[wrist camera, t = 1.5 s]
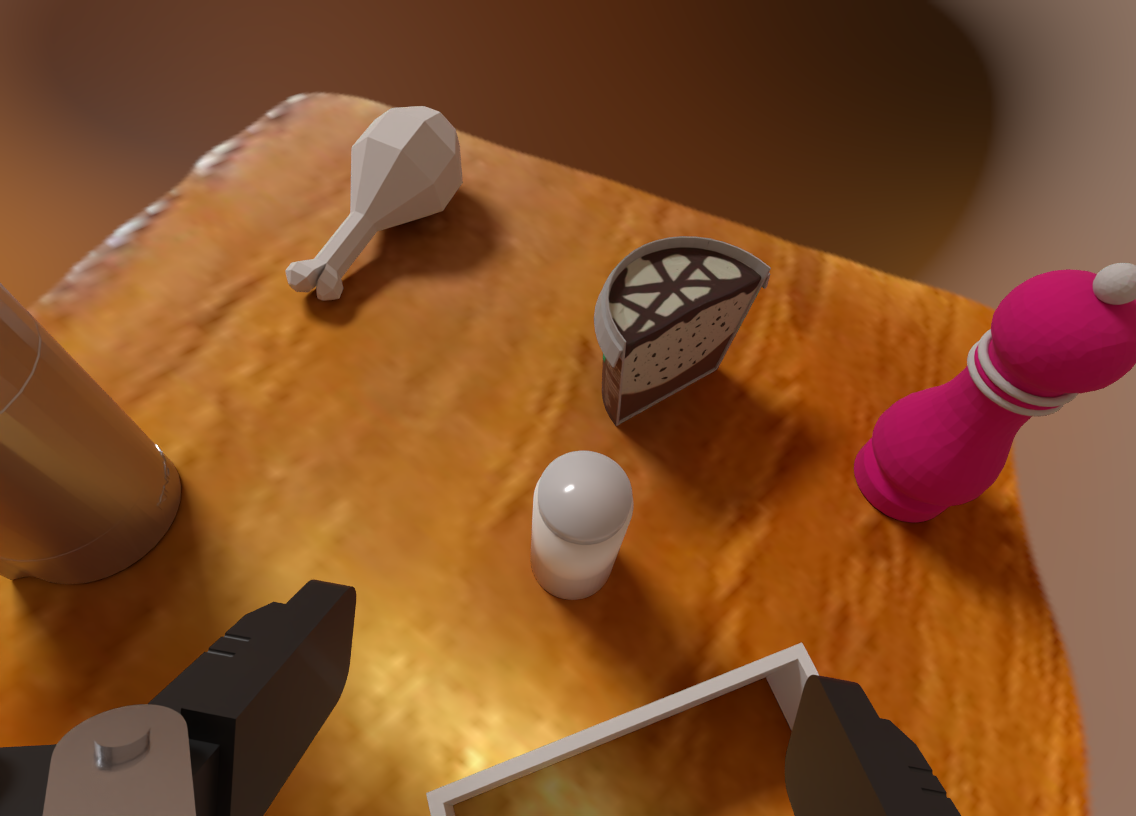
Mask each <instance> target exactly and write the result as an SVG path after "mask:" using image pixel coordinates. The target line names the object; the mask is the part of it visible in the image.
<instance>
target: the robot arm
mask: <svg viewBox="0 0 1136 816" xmlns="http://www.w3.org/2000/svg"><path fill="white" fill-rule="evenodd" d="M180 498H181V483H180V478H179V474H178V472H177V470H176V468H175V466H174V465H173V463H172V462H171V461H170V460H169V459H168V458H167V457H166V456H165V455H164V453H163V452H162V451H161V449H160V448H159V447H158V446H157V445H156V444H154V443H153V442H152V441H151V440H150V439H149V438H148V436H147V435H146V434H145V433H144V432H143V431H142V430H141V429H140V428H139V427H138V426H137V425H136V423H135V422H134V421H133V420H132V419H131V418H130V417H129V416H128V415H127V414H126V413H125V412H124V411H123V410H122V409H121V408H120V407H119V406H118V405H117V404H116V403H115V402H114V401H113V400H112V398H111V397H110V396H109V395H108V394H107V393H106V392H105V391H104V390H103V389H102V388H101V387H100V386H99V385H98V384H97V383H96V382H95V381H94V380H93V379H92V378H91V377H90V376H89V375H88V373H87V372H86V371H85V370H84V369H83V368H82V367H81V366H80V365H79V364H78V363H77V362H76V361H75V360H74V359H73V358H72V357H71V356H70V355H69V354H68V353H67V352H66V351H65V350H64V348H63V347H62V346H61V345H60V344H59V343H58V342H57V341H56V340H55V339H54V338H53V337H52V336H51V335H50V334H49V333H48V332H47V331H46V330H45V329H44V328H43V327H42V326H41V325H40V323H39V322H38V321H37V320H36V319H35V318H34V317H33V316H32V315H31V314H30V313H29V312H28V311H27V310H26V309H25V308H24V307H23V306H22V305H21V304H20V303H19V302H18V301H17V300H16V299H15V298H14V297H13V296H12V295H11V294H10V293H9V292H8V290H7V289H5V287H4V286H3V285H2V284H1V283H0V575H2V576H4V577H6V578H8V579H10V580H14V579H18V578H22V577H27V576H33V577H37V578H40V579H42V580H45V581H48V582H51V583H59V584H80V583H88V582H92V581H96V580H99V579H103V578H106V577H109V576H111V575H113V574H115V573H117V572H120V571H122V570H124V569H126V568H127V567H129V566H130V565H132V564H133V563H135V562H136V561H138V560H139V559H141V558H142V557H143V556H144V555H146V554H147V553H148V552H149V551H150V550H151V549H152V548H153V547H154V546H156V545H157V543H158V542H159V541H160V540H161V538H162V537H163V536H164V535H165V533H166V532H167V531H168V529H169V527H170V525H171V524H172V522H173V520H174V518H175V516H176V513H177V510H178V507H179V504H180ZM355 607H356V591H355V588H354V587H351V586H346V585H340V584H335V583H330V582H324V581H319V580H310V581H309V582H308V583H306V584H305V585H304V586H303V587H302V588H301V589H300V590H299V591H298V592H297V593H296V594H295V595H294V596H293V597H292V598H291V599H290V600H289V601H288V602H287V603H286V604H282V603H277V602H272V603H270V604H268V605H266V606H264V607H261V608H259V609H257V610H255V611H253V612H251V613H248V614H246V615H245V616H244V617H242V618H241V619H240V620H239V621H238V622H237V623H236V624H235V625H234V626H233V627H231V628H230V629H229V630H228V631H227V632H226V633H225V636H224V637H221V638H219V639H218V640H217V641H216V642H215V643H214V644H213V645H212V646H211V647H210V648H209V650H208V652H204V653H203V654H202V655H201V656H200V657H199V658H197V659H196V660H195V661H194V662H193V663H192V664H191V665H190V666H189V667H188V668H187V669H185V670H184V671H183V672H182V673H181V674H180V675H179V676H178V677H177V678H176V679H174V680H173V681H172V682H171V683H170V684H169V685H168V686H167V687H166V688H165V689H163V690H162V691H161V692H160V693H159V694H158V695H157V696H156V697H155V698H154V699H153V700H151V701H150V702H149V703H148V704H141V705H131V706H124V707H120V708H116V709H112V710H109V711H106V712H103V713H100V714H98V715H96V716H93V717H91V718H89V719H87V720H85V721H84V722H82V723H80V724H79V725H77V726H76V727H74V728H73V729H71V730H70V731H69V732H68V733H67V734H66V735H65V736H64V737H63V738H62V739H61V740H60V741H59V742H58V744H55V745H41V746H22V747H2V748H0V816H263V815H264V814H265V812H266V811H267V809H268V808H269V806H270V804H271V803H272V801H273V800H274V798H275V797H276V795H277V794H278V792H279V791H280V789H281V788H282V786H283V785H284V783H285V782H286V780H287V779H288V777H289V776H290V774H291V772H292V771H293V769H294V768H295V766H296V765H297V763H298V762H299V760H300V759H301V757H302V756H303V754H304V753H305V751H306V750H307V748H308V747H309V745H310V744H311V742H312V740H313V739H314V737H315V736H316V734H317V733H318V731H319V730H320V728H321V727H322V725H323V724H324V722H325V721H326V719H327V718H328V716H329V715H330V713H331V712H332V710H333V708H334V707H335V705H336V704H337V702H338V700H339V698H340V696H341V694H342V691H343V689H344V686H345V683H346V680H347V676H348V672H349V666H350V657H351V647H352V637H353V627H354V617H355ZM785 783H786V789H787V793H788V796H789V800H790V803H791V806H792V809H793V812H794V815H795V816H961V815H960V813H959V812H958V810H957V808H956V807H955V805H954V804H953V802H952V801H951V799H950V798H947V797H946V791H945V789H944V788H943V786H942V785H941V783H940V782H939V780H938V778H937V777H936V776H934V775H933V774H932V769H931V767H930V766H929V764H928V763H927V761H926V760H925V758H924V756H923V755H922V753H921V752H920V750H919V749H918V747H917V745H916V744H915V743H914V742H913V741H912V740H910V739H909V738H908V737H907V736H906V735H905V734H904V733H903V732H902V731H901V730H900V729H899V728H897V727H896V726H895V725H894V724H893V723H892V722H891V721H890V720H887V719H881V718H879V716H878V715H877V713H876V711H875V709H874V708H873V706H872V704H871V703H870V701H869V699H868V698H867V696H866V694H865V693H864V691H863V689H862V688H861V686H860V685H859V684H858V683H856V682H850V681H845V680H840V679H834V678H829V677H824V676H818V675H810V676H809V677H808V679H807V680H806V683H805V685H804V688H803V692H802V696H801V700H800V703H799V707H798V711H797V714H796V718H795V722H794V726H793V729H792V733H791V737H790V740H789V744H788V748H787V752H786V758H785Z"/></svg>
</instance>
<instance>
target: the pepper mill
mask: <svg viewBox="0 0 1136 816" xmlns="http://www.w3.org/2000/svg"><path fill="white" fill-rule="evenodd" d="M1135 363H1136V266H1135V265H1133V264H1129V263H1118V264H1113V265H1110V266H1107V267H1105V268H1104V269H1102V270H1101V271H1100V272H1099V273H1098V274H1095V273H1091V272H1088V271H1081V270H1058V271H1051V272H1047V273H1043V274H1040V275H1037V276H1035V277H1033V278H1030V279H1028V280H1027V281H1025V282H1024V283H1022V284H1020V285H1019V286H1017V287H1016V288H1014V289H1013V290H1012V291H1011V292H1010V293H1009V294H1008V295H1007V296H1006V297H1005V298H1004V299H1003V300H1002V301H1001V303H1000V304H999V306H998V308H997V309H996V311H995V312H994V315H993V319H992V324H991V329H990V330H989V331H987V332H986V333H985V334H984V335H983V336H982V338H981V339H980V341H978V342H977V343H976V344H974V346H973V347H972V348H971V350H970V351H969V354H968V359H967V364H968V366H967V367H966V368H965V369H964V370H963V371H962V372H961V373H960V374H958V375H957V376H956V377H955V378H954V379H953V380H951V381H950V382H948V383H946V384H944V385H941V386H937V387H933V388H929V389H926V390H922V391H919V392H916V393H912V394H910V395H908V396H906V397H904V398H902V399H900V400H898V401H897V402H896V403H894V404H893V405H892V406H891V407H890V408H888V409H887V410H886V411H885V412H884V413H883V414H882V415H881V416H880V418H879V419H878V421H877V423H876V425H875V427H874V430H873V436H872V438H871V439H870V440H869V441H868V442H867V443H866V444H865V445H864V446H863V448H862V449H861V450H860V451H859V453H858V454H857V456H856V459H855V463H854V473H855V478H856V481H857V484H858V486H859V488H860V490H861V492H862V493H863V495H864V496H865V497H866V498H867V500H868V501H869V502H870V503H871V504H872V505H873V506H874V507H875V508H877V509H878V510H880V511H881V512H883V513H884V514H885V515H887V516H889V517H892V518H894V519H897V520H900V521H905V522H911V523H912V522H923V521H927V520H930V519H932V518H934V517H936V516H937V515H939V514H940V513H941V512H943V511H944V510H945V509H947V508H948V507H949V506H954V505H961V504H964V503H967V502H969V501H972V500H974V499H976V498H977V497H978V496H980V495H981V494H982V493H983V492H984V491H985V490H986V489H987V488H989V487H990V486H991V485H992V484H993V483H994V481H995V480H996V479H997V477H998V475H999V474H1000V472H1001V470H1002V469H1003V467H1004V465H1005V462H1006V460H1007V457H1008V454H1009V451H1010V448H1011V445H1012V442H1013V439H1014V437H1015V435H1016V433H1017V432H1018V430H1019V429H1020V427H1021V426H1022V425H1023V424H1024V423H1025V422H1026V421H1028V419H1030V418H1031V417H1032V416H1047V415H1050V414H1053V413H1055V412H1057V411H1058V410H1060V409H1061V408H1062V407H1063V405H1064V404H1066V403H1068V402H1070V401H1072V400H1073V399H1074V398H1075V397H1076V396H1077V395H1078V393H1085V392H1090V391H1095V390H1099V389H1102V388H1105V387H1107V386H1108V385H1110V384H1112V383H1114V382H1116V381H1117V380H1119V379H1120V378H1121V377H1122V376H1124V375H1125V374H1126V373H1127V372H1128V371H1130V370H1131V369H1132V367H1133V366H1134V365H1135Z"/></svg>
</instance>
